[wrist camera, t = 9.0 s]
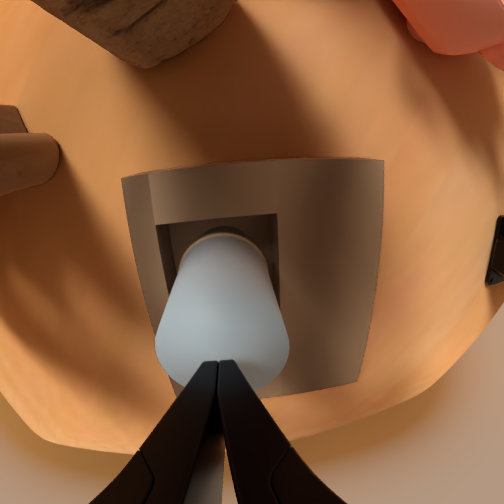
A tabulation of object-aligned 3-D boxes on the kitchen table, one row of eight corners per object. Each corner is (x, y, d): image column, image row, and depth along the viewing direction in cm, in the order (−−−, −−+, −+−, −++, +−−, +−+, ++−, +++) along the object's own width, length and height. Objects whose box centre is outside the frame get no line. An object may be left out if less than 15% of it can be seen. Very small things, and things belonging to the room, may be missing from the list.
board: (357, 157, 14) (384, 160, 12) (343, 354, 19) (357, 381, 17) (140, 172, 14) (121, 178, 11) (183, 372, 19) (178, 402, 16)
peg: (260, 215, 15) (293, 286, 7) (263, 286, 16) (290, 391, 9) (181, 222, 14) (136, 298, 7) (192, 292, 16) (170, 399, 8)
